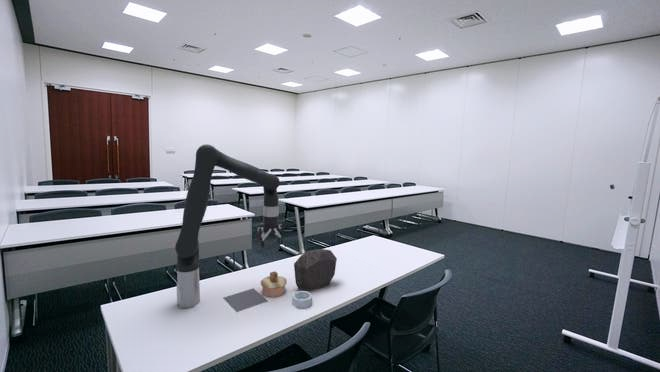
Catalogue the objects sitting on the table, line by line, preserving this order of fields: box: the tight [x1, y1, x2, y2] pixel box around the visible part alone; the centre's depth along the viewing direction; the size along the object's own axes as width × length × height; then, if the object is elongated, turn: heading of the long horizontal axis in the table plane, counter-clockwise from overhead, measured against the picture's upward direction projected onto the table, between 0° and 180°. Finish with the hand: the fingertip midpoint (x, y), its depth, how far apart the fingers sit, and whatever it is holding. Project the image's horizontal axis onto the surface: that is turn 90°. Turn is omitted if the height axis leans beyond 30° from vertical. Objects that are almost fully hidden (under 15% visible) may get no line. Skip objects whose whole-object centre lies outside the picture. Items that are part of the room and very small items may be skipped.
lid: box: [260, 271, 288, 289], centre depth 157 cm, size 13×13×5 cm
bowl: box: [262, 285, 286, 298], centre depth 158 cm, size 11×11×5 cm
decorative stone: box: [293, 248, 337, 291], centre depth 165 cm, size 24×9×20 cm, turn 123°
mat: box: [223, 288, 269, 313], centre depth 150 cm, size 16×16×1 cm
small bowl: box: [291, 290, 313, 310], centre depth 148 cm, size 9×9×4 cm
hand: (270, 245), depth 156 cm, fingers open, 8 cm apart
